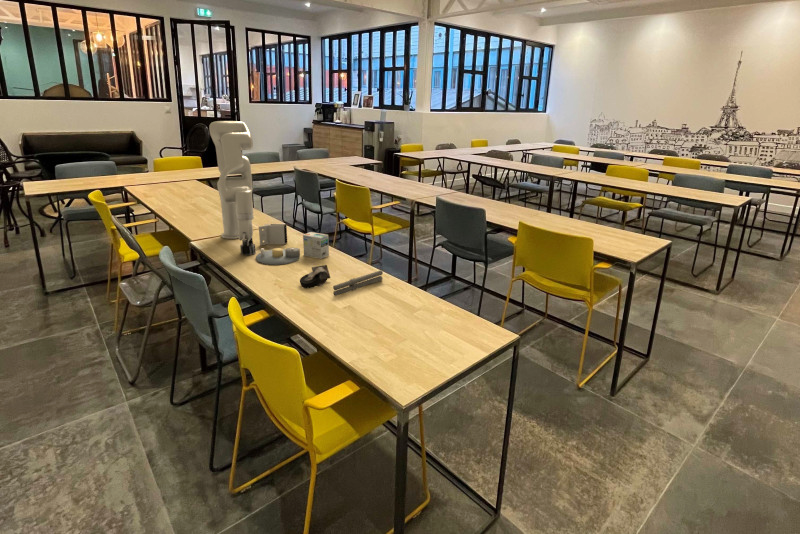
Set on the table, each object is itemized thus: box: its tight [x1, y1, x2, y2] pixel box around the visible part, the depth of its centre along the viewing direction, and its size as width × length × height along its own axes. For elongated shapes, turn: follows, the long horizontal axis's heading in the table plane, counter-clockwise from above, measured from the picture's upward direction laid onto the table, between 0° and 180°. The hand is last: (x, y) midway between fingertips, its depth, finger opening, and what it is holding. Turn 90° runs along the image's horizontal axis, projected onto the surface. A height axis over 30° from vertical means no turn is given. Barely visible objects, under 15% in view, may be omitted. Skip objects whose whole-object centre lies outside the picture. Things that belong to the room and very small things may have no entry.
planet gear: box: [239, 243, 257, 256], centre depth 224 cm, size 7×7×4 cm
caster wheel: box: [299, 264, 331, 289], centre depth 190 cm, size 7×11×10 cm
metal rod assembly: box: [332, 269, 384, 297], centre depth 189 cm, size 26×3×5 cm, turn 136°
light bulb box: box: [302, 231, 330, 260], centre depth 223 cm, size 11×7×11 cm, turn 65°
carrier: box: [255, 247, 301, 266], centre depth 219 cm, size 20×20×4 cm
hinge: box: [258, 223, 288, 246], centre depth 239 cm, size 14×5×10 cm, turn 106°
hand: (248, 250), depth 224 cm, fingers open, 8 cm apart
